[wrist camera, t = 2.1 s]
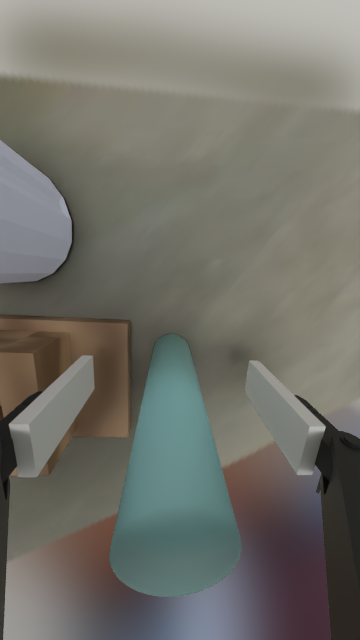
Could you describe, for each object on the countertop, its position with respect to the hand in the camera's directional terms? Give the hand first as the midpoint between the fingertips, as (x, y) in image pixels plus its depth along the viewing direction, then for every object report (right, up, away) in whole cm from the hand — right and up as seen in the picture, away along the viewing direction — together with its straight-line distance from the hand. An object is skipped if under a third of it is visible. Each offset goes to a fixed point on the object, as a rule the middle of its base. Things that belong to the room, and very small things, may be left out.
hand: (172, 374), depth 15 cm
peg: (0, +1, +4) cm, 4 cm away
